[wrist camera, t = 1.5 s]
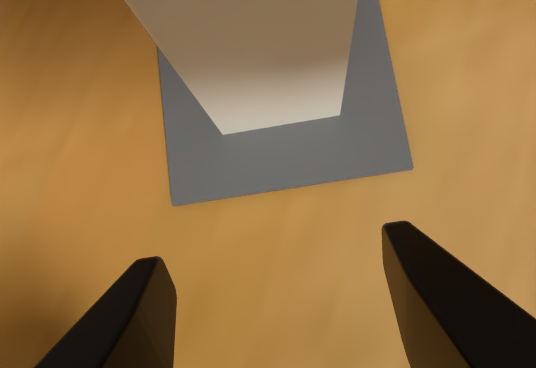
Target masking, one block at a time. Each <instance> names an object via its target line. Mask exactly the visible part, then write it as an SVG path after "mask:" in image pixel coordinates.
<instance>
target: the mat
mask: <svg viewBox="0 0 536 368" xmlns="http://www.w3.org/2000/svg"><path fill="white" fill-rule="evenodd" d="M157 50H158V61H159V72H160V82H161V93H162V104H163V114H164V125H165V136H166V146H167V157H168V168H169V179H170V189H171V200H172V205H173V206H180V205H186V204H193V203H199V202H205V201H212V200H218V199H225V198H231V197H238V196H244V195H251V194H257V193H264V192H270V191H277V190H283V189H290V188H296V187H303V186H309V185H316V184H322V183H329V182H335V181H342V180H348V179H355V178H361V177H368V176H374V175H381V174H387V173H394V172H400V171H407V170H412V169H413V163H412V158H411V154H410V149H409V144H408V139H407V134H406V129H405V125H404V120H403V115H402V110H401V105H400V101H399V96H398V91H397V86H396V81H395V76H394V72H393V67H392V62H391V57H390V52H389V48H388V43H387V38H386V33H385V28H384V23H383V19H382V14H381V9H380V4H379V0H358V2H357V8H356V15H355V21H354V28H353V34H352V41H351V47H350V53H349V60H348V66H347V73H346V79H345V86H344V92H343V99H342V105H341V111H340V115H339V116H333V117H327V118H321V119H315V120H309V121H303V122H297V123H291V124H285V125H279V126H273V127H267V128H261V129H255V130H249V131H243V132H237V133H231V134H225V135H223V134H222V133H221V132H220V130H219V129H218V128H217V126H216V125H215V124H214V122H213V121H212V119H211V118H210V117H209V115H208V114H207V113H206V111H205V110H204V109H203V107H202V106H201V105H200V103H199V102H198V100H197V99H196V98H195V96H194V95H193V94H192V92H191V91H190V90H189V88H188V87H187V85H186V84H185V83H184V81H183V80H182V79H181V77H180V76H179V75H178V73H177V72H176V71H175V69H174V68H173V66H172V65H171V64H170V62H169V61H168V60H167V58H166V57H165V56H164V54H163V53H162V52H161V50H160V49H159V47H158V46H157Z"/></svg>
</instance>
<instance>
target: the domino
mask: <svg viewBox="0 0 536 368" xmlns="http://www.w3.org/2000/svg"><path fill="white" fill-rule="evenodd" d="M124 1H125V3H126V4H127V5H128V7H129V8H130V9H131V11H132V12H133V13H134V15H135V16H136V18H137V19H138V20H139V22H140V23H141V24H142V26H143V27H144V28H145V30H146V31H147V32H148V34H149V35H150V37H151V38H152V39H153V41H154V42H155V43H156V45H157V46H158V47H159V49H160V50H161V52H162V53H163V54H164V56H165V57H166V58H167V60H168V61H169V62H170V64H171V65H172V66H173V68H174V69H175V71H176V72H177V73H178V75H179V76H180V77H181V79H182V80H183V81H184V83H185V84H186V85H187V87H188V88H189V90H190V91H191V92H192V94H193V95H194V96H195V98H196V99H197V100H198V102H199V103H200V105H201V106H202V107H203V109H204V110H205V111H206V113H207V114H208V115H209V117H210V118H211V119H212V121H213V122H214V124H215V125H216V126H217V128H218V129H219V130H220V132H221V133H222V134H223V135H225V134H231V133H237V132H243V131H249V130H255V129H261V128H267V127H273V126H279V125H285V124H291V123H297V122H303V121H309V120H315V119H321V118H327V117H333V116H339V115H340V111H341V105H342V99H343V92H344V86H345V79H346V73H347V66H348V60H349V53H350V47H351V41H352V34H353V28H354V21H355V15H356V8H357V2H358V0H124Z"/></svg>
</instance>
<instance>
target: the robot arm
mask: <svg viewBox="0 0 536 368" xmlns="http://www.w3.org/2000/svg"><path fill="white" fill-rule="evenodd" d="M382 252H383V265H384V271H385V275H386V279H387V283H388V287H389V291H390V294H391V298H392V302H393V306H394V310H395V314H396V318H397V322H398V326H399V330H400V334H401V338H402V342H403V345H404V349H405V352H406V355H407V358H408V361H409V364H410V367H411V368H536V319H535V318H534V317H533V316H531V315H530V314H529V313H527V312H526V311H525V310H524V309H522V308H521V307H520V306H518V305H517V304H516V303H514V302H513V301H512V300H510V299H509V298H508V297H506V296H505V295H504V294H503V293H501V292H500V291H499V290H497V289H496V288H495V287H493V286H492V285H491V284H489V283H488V282H487V281H486V280H484V279H483V278H482V277H480V276H479V275H478V274H476V273H475V272H474V271H472V270H471V269H470V268H469V267H467V266H466V265H465V264H463V263H462V262H461V261H459V260H458V259H457V258H455V257H454V256H453V255H452V254H450V253H449V252H448V251H446V250H445V249H444V248H442V247H441V246H440V245H438V244H437V243H436V242H434V241H433V240H432V239H431V238H429V237H428V236H427V235H425V234H424V233H423V232H421V231H420V230H419V229H417V228H416V227H415V226H414V225H412V224H411V223H409V222H407V221H398V222H391V223H385V224H384V225H383V226H382ZM176 306H177V295H176V289H175V286H174V284H173V281H172V279H171V277H170V274H169V272H168V270H167V268H166V265H165V263H164V261H163V259H162V258H161V257H158V256H155V257H148V258H141V259H138V260H136V261H135V262H134V263H133V264H132V265H131V266H130V267H129V268H128V269H127V270H126V271H125V272H124V273H123V274H122V275H121V276H120V278H119V279H118V280H117V281H116V282H115V283H114V284H113V285H112V286H111V287H110V288H109V289H108V290H107V291H106V292H105V293H104V294H103V295H102V296H101V297H100V298H99V300H98V301H97V302H96V303H95V304H94V305H93V306H92V307H91V308H90V309H89V310H88V311H87V312H86V313H85V314H84V315H83V316H82V317H81V318H80V319H79V321H78V322H77V323H76V324H75V325H74V326H73V327H72V328H71V329H70V330H69V331H68V332H67V333H66V334H65V335H64V336H63V337H62V338H61V339H60V340H59V342H58V343H57V344H56V345H55V346H54V347H53V348H52V349H51V350H50V351H49V352H48V353H47V354H46V355H45V356H44V357H43V358H42V359H41V360H40V361H39V363H38V364H37V365H36V366H35V367H34V368H173V361H174V343H175V324H176Z"/></svg>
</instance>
